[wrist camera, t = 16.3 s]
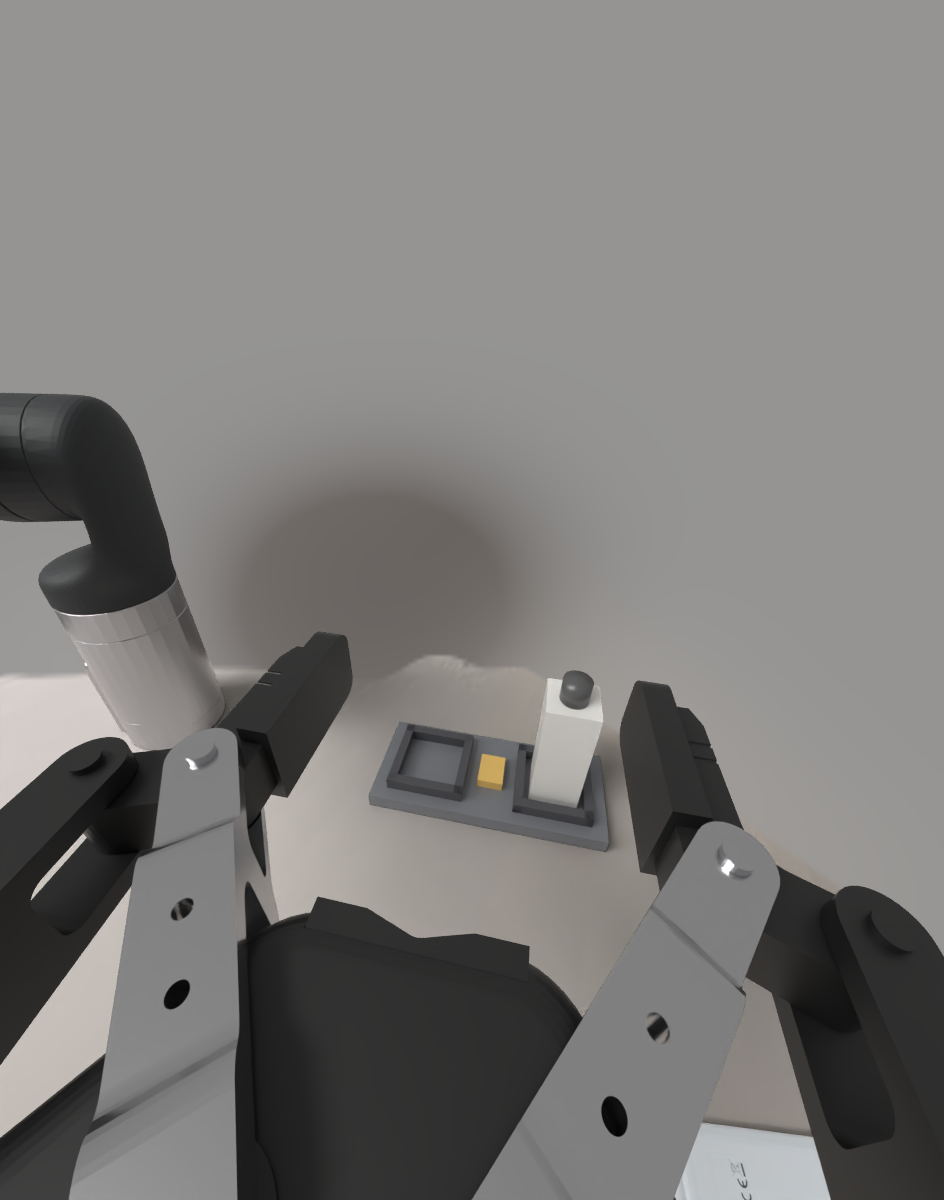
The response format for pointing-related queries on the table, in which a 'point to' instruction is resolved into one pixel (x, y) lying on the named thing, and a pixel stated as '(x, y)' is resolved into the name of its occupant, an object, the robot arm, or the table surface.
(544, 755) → the plug
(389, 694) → the table surface
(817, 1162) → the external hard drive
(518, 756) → the power strip
